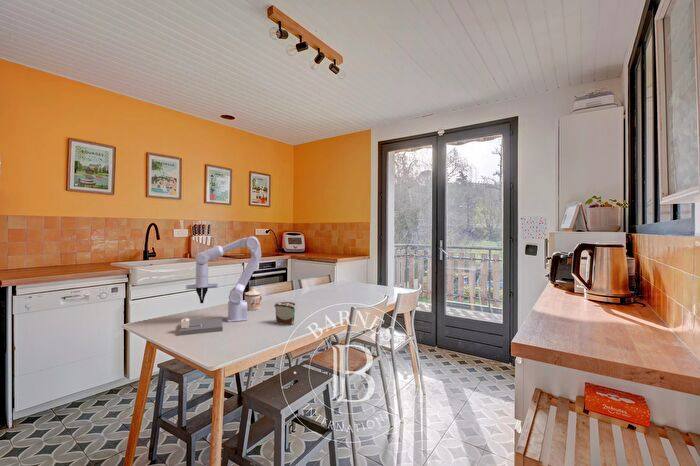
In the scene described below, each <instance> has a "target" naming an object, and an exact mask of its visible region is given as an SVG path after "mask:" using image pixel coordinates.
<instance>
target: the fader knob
mask: <svg viewBox="0 0 700 466" xmlns="http://www.w3.org/2000/svg"><path fill="white" fill-rule="evenodd" d="M189 320H190V318H187V317H184V318H181V321H180V325H181V328H189Z"/></svg>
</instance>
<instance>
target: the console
mask: <svg viewBox="0 0 700 466" xmlns="http://www.w3.org/2000/svg"><path fill="white" fill-rule="evenodd" d="M222 320H223V319H222V317H212V318H211V317H209V318H199V319H191V320H190V319H189V328H181V324H180V325H179V329H178V336H188V335H198V334H207V333H216V332H223V328H224V325H223V321H222Z"/></svg>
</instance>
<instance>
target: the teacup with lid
mask: <svg viewBox="0 0 700 466" xmlns="http://www.w3.org/2000/svg"><path fill="white" fill-rule="evenodd" d="M262 299H263V295H262V294H261V292H260V291H257V290H256V289H255V288H250V290H249V291H247V292H244V302H247V311H257V310H260V308H261V302H262V301H263V300H262Z"/></svg>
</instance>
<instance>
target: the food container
mask: <svg viewBox="0 0 700 466" xmlns="http://www.w3.org/2000/svg"><path fill="white" fill-rule="evenodd" d="M273 307H274V309H275V322H276V324H280V323H282V325H286V324H288V325H287V326H291V325H292V326H293V325H294V323H295V313H296V310H297V304H296V302H292V301H279V302H278V301H277V302H274V306H273Z"/></svg>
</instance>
